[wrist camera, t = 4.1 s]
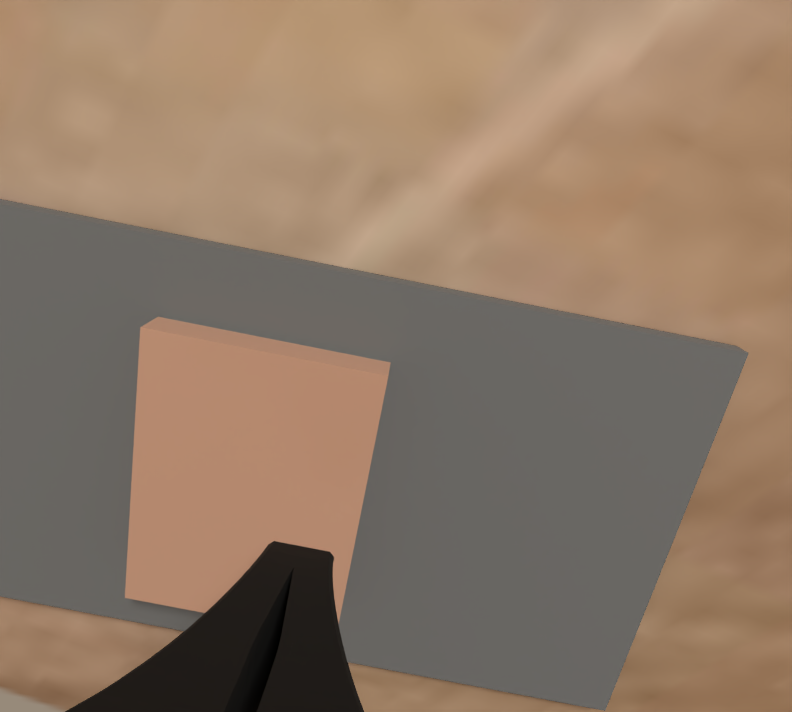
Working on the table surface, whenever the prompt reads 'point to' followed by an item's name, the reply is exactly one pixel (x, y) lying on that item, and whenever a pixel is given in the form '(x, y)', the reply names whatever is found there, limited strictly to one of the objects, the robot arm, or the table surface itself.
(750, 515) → the table surface
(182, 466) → the tile
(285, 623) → the robot arm
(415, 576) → the mat
